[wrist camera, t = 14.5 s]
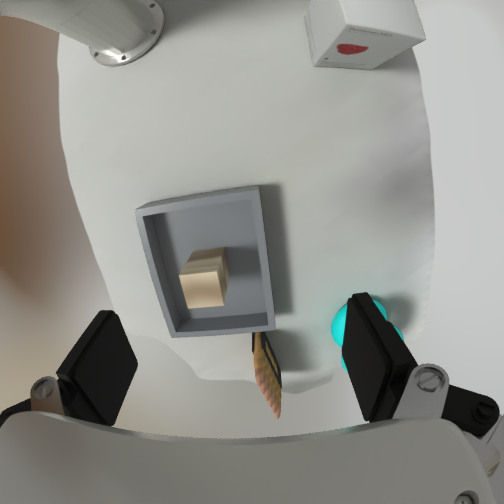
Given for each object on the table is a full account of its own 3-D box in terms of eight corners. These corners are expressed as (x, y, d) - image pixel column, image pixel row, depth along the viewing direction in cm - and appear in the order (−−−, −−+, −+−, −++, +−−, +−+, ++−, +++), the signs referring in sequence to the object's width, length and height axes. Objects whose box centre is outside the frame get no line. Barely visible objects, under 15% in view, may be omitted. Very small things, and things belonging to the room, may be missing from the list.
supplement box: (311, 68, 30) (344, 24, 16) (302, 16, 27) (325, -41, 13) (372, 72, 29) (428, 41, 15) (362, 21, 26) (406, -23, 12)
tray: (146, 203, 37) (134, 210, 33) (258, 184, 36) (258, 189, 32) (178, 321, 44) (171, 337, 40) (274, 313, 43) (276, 329, 39)
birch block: (193, 250, 38) (178, 275, 31) (224, 246, 38) (216, 271, 30) (199, 279, 40) (187, 308, 32) (229, 276, 39) (223, 305, 32)
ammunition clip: (251, 330, 44) (250, 383, 33) (262, 327, 44) (264, 380, 33) (271, 371, 48) (273, 422, 36) (280, 369, 47) (285, 420, 36)
